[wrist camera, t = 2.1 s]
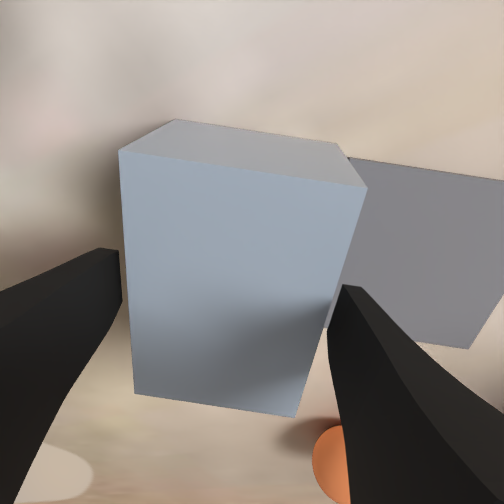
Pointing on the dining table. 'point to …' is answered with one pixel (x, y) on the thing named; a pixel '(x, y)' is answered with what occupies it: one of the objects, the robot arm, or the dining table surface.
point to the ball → (332, 465)
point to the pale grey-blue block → (232, 260)
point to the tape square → (428, 250)
